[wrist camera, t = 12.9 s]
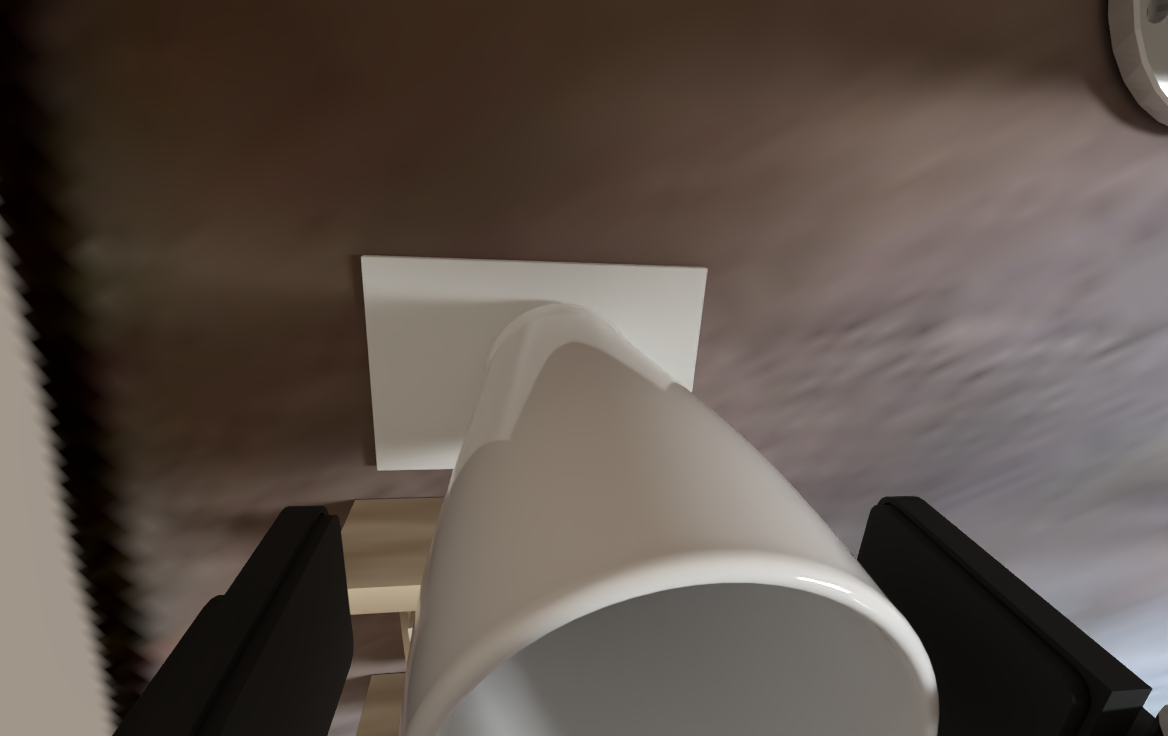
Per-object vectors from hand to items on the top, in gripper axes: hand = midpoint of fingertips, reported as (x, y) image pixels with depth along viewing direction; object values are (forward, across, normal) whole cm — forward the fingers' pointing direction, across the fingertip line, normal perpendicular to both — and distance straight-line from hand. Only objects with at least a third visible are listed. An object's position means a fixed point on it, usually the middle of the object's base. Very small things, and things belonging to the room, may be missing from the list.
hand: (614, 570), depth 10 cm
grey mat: (+12, +1, +1) cm, 12 cm away
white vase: (+12, 0, 0) cm, 12 cm away
